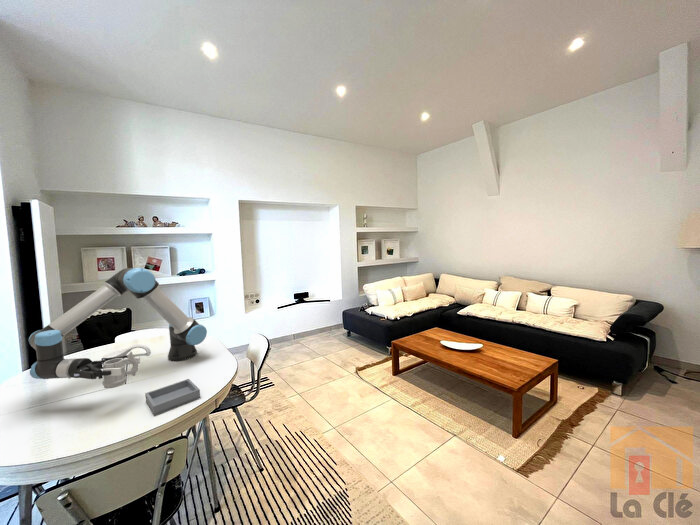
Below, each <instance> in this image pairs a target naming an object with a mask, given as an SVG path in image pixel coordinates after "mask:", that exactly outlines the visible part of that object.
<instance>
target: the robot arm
mask: <svg viewBox="0 0 700 525" xmlns="http://www.w3.org/2000/svg"><path fill="white" fill-rule="evenodd" d="M159 287H160V283H159V282H158V281H157V280H156V276H155V275H154V273H153V272H151V271H150V270H148V269H146V268H141V267H125V268H122V269H121V270H119V271H118V272H116V273H115V274H113V276H112V275H111V276H110V278H108V279H107V280H105V281H103V285H102V286H101V287H99V288H98V289H97V290H95V291H93V292H92V293H91V294H89V295H88V296H87V297H85V298H84V299H82V300H81V301H79V303H77V304H75V305H74V306H72V308H70V309H68V310H67V311H66V312H64V313H62V315H60V316H58V317H57V318H56V319H54V320H53V321H51V322H50V323H49V324H48V325H46V326H45V327H43V328H42V329H38V330H36V331H34V332H32V333H31V334H30V336H29V337H28V343H29V345H30V346H31V348H33V349H34V350H35V353H36V361H35V362H34V363H33V364H32V365H31V367H30V369H29V375H30V377H31V378H33V379H37V380H41V379H42V380H49V379H69V380H70V379H72V378H73V379H79V378H80V379H86V380H96V379H98V380H100V379H104V376H118V375H122V374H121V368H107V369H103V363H104V362H106V361H108V360H111V359H116V358H123V359H126V358H128V355H126V356H120V357H112V358H102V357H101V358H102V359H101V358H100V359H101V360H92V359H90V358H87V357H83V358H79V357H78V358H65V357H64V356H65V355H64V346H63V337H64V336H66V335H67V334H68V333H70V332H71V331H72V330H73V329H75V328H76V327H78V326H79V325H80V324H82V323H83V322H85V321H86V320H87V319H89V317H91V316H92V315H93V314H95V313H96V312H98V311H99V310H101V309H102V308H103V307H104V306H106V305H107V304H109V302H111V301H112V300H113V299H115V298H117V297H121V296H122V295H123V294H125V293H127V292H129V293H130V294H131V295H133V296H134V297H135V298H136V299H137V300H143V301H144V302H146V304H148V305H149V307H151V308H152V309H153V310H154V312H156V313H157V314H158V315H159V316H160V317H162V319H163V320H164V321H166V322H167V323H168V330H169V332H168V333H169V343H170V347H169V350H168V354H167V360H168V361H170V362H181V361H187V360H189V358H190V359H191V357H192V358H194V357H196V355H198V354H197V353H198V352H197V348H196V346H197V345H199V344H202V342H204V340H205V339H206V337H207V333H208V331H207V330H208V329H207V327H205V325H203V324H200V323H198V322H197V320H196V319H194V317H192V316H190V317H188V316H187V314H186V313H184V312H183V311H182V309H181V308H180V307H178V305H176V303H174V302H173V301H172V300H171V299H170V298H169V297H168V296H167V295H166V294H165V293H164V292H163V291H162V290H161V289H160V288H159ZM193 356H194V357H193ZM134 358H135V360H136V361H137V363H138V365H141V357H140V356H139V357H134ZM124 365H125V366H126V365H133V364H132V363H131V362H130V361H126V362H124Z"/></svg>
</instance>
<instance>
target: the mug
mask: <svg viewBox="0 0 700 525" xmlns="http://www.w3.org/2000/svg"><path fill="white" fill-rule="evenodd" d="M127 356H128V358H126V359H123V358H116V359H111V360H108V361H106V362H104V363H103V364H102V367H103V369H107V368H121V374H122V375H118V376H103V381H102V386H103V387H104V388H103V389H107V390H108V389H115V388H119V387H121V386H123V385H125V384H126V383H127V379H128V375H131V376H132V377H135V376H136V375H137V372H139V371H138V370H139V364H138V363H137V361H136V360H135V358H136V357H134V354H133V351H132V350H131V351H130V352H129V353H128V354H127ZM126 361H130V362H131V363H132V364H131V365H132V368H131V369H130V370H125V369H126V365H124V362H126ZM103 369H102V370H103Z"/></svg>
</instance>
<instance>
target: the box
mask: <svg viewBox="0 0 700 525" xmlns="http://www.w3.org/2000/svg"><path fill="white" fill-rule="evenodd" d="M144 393H145V394H144V397H145V403H146V405H147V407H148V408H149V410H150V412H151V414H152V415H153V417H155V416H159V415H161V414H164V413H167V412H168V411H171V410H174V409H177V408H179V407H182V406H184V405H187V404H189V403H192V402H194V401H196V400H199V398H200V399H201V390H200V388H199V387H198V386H197V385H196V384H195V383H194V382H193V381H192V380H191V379H190V378H187V379H184V380H181V381H178V382H175V383H172V384H168V385H166V386H163V387H159V388H157V389H156V388H155V389H154V390H150V391H148V392H144Z"/></svg>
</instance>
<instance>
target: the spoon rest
mask: <svg viewBox="0 0 700 525" xmlns="http://www.w3.org/2000/svg"><path fill="white" fill-rule="evenodd" d="M138 348H140V349H143V350H145V352H146V355H147V357H148V356H150V355H151V353H152V352H151V348H149V347H148V346H147V345H144V344H134V345H132V346H129V347H127V348H124V349H121V350H115V351H112V352H109V353H106V354H104V355H103V356H101V358H100V359H102V358H112V357H120V356H128V354H129V353H130V352H131V351H132V350H134V349H138Z"/></svg>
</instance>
